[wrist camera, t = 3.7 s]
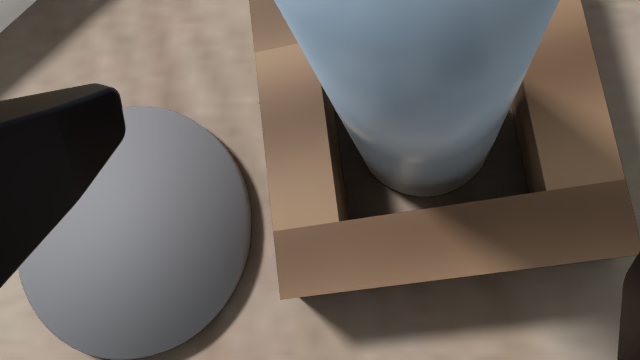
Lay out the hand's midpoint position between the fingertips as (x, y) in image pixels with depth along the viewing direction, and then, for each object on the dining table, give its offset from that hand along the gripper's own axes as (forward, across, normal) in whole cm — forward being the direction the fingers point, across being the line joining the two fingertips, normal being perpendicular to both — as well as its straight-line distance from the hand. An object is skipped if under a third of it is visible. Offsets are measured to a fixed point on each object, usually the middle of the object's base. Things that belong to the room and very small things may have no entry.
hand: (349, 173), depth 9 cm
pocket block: (+11, 0, +5) cm, 12 cm away
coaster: (+6, +10, +10) cm, 15 cm away
